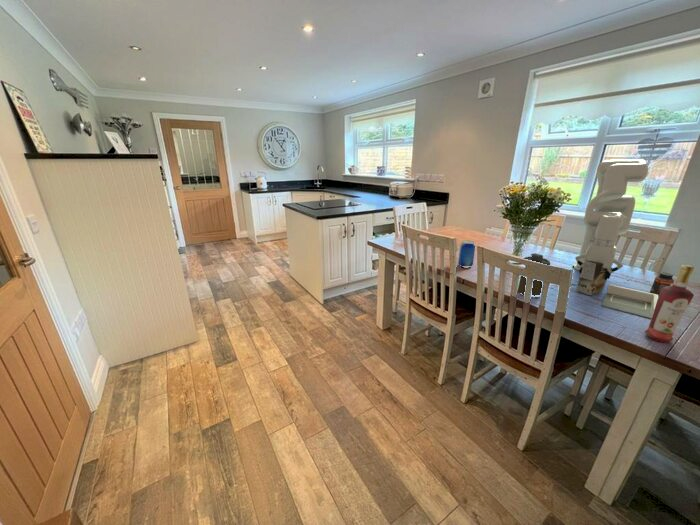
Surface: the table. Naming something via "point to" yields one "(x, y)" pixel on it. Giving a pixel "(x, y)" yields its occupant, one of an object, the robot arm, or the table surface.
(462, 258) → the beer can
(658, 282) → the supplement bottle
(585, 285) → the coffee box
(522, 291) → the canister
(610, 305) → the corner arena
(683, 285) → the liquor
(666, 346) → the table surface
